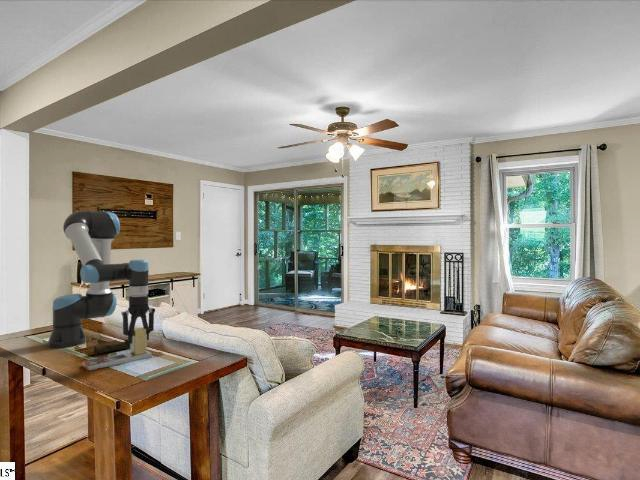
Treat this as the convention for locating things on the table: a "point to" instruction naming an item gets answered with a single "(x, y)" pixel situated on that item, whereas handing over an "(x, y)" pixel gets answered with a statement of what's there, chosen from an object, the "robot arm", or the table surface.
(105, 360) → the triple square frame
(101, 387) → the table surface
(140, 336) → the brass post
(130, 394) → the table surface
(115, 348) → the hand tool
